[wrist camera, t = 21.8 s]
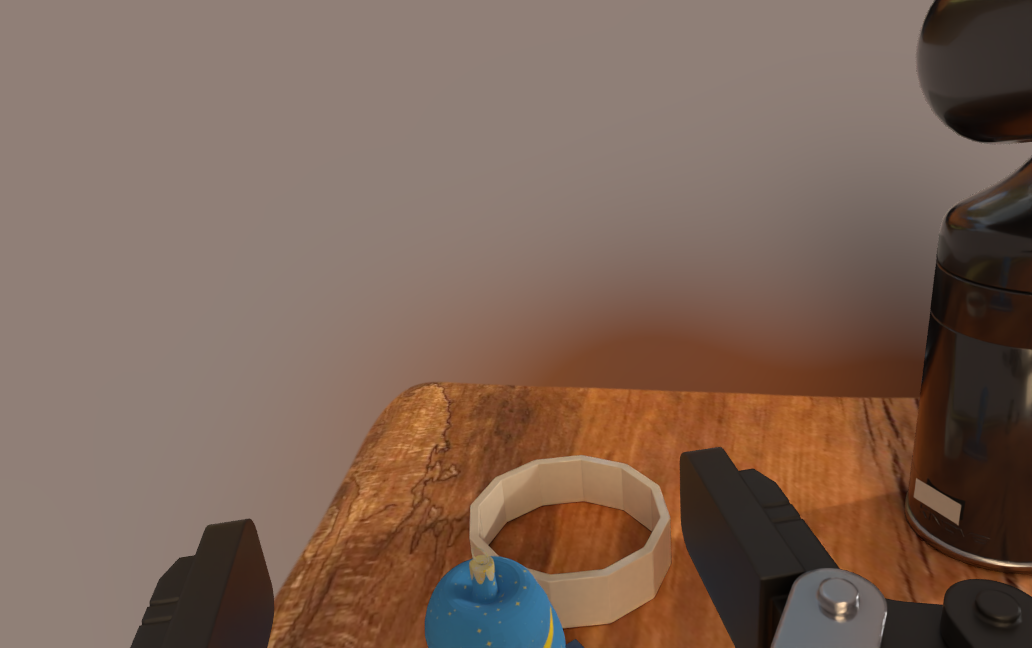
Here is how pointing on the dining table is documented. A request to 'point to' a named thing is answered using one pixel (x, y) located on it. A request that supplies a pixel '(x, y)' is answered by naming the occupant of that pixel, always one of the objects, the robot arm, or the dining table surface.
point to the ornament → (491, 608)
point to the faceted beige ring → (595, 482)
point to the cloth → (574, 644)
